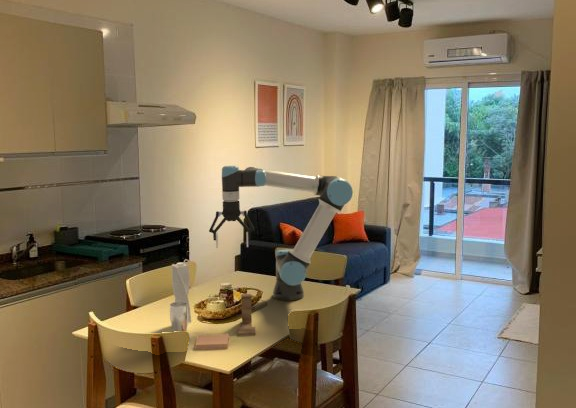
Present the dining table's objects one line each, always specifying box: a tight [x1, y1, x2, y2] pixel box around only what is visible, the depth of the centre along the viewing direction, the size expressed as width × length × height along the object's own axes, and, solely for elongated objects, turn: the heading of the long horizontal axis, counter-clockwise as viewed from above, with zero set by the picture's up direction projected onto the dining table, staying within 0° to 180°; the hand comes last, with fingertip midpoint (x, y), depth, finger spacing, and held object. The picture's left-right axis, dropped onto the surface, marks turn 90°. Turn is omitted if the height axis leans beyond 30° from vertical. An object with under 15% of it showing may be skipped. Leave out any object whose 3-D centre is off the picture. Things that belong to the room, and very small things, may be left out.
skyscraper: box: [171, 258, 192, 326], centre depth 237 cm, size 8×8×28 cm
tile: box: [195, 333, 230, 350], centre depth 217 cm, size 12×2×10 cm
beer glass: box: [169, 301, 188, 332], centre depth 219 cm, size 7×7×15 cm
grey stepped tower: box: [237, 293, 256, 337], centre depth 232 cm, size 16×7×12 cm, turn 4°
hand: (232, 247), depth 254 cm, fingers open, 13 cm apart
